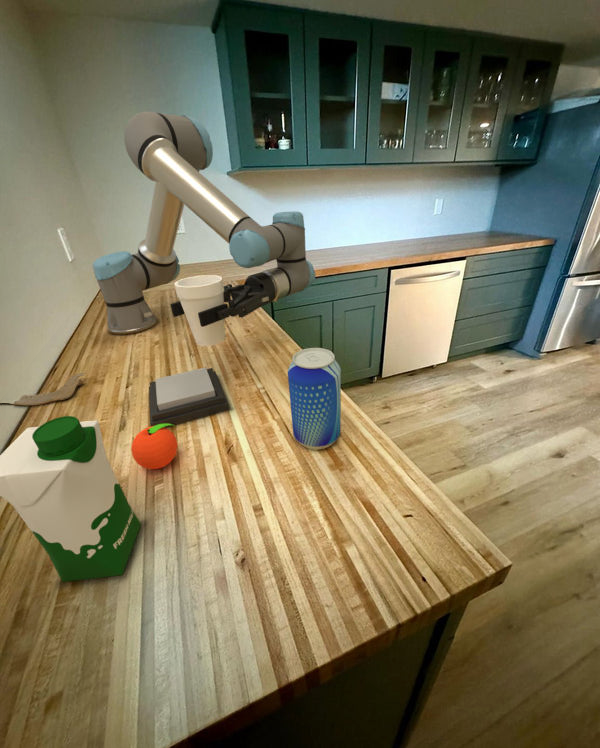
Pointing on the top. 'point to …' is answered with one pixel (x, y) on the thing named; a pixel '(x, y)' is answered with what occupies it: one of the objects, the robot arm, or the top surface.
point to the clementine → (154, 446)
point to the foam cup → (202, 306)
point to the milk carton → (70, 498)
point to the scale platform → (183, 388)
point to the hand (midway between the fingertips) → (185, 315)
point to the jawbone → (52, 393)
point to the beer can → (315, 397)
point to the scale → (188, 405)
